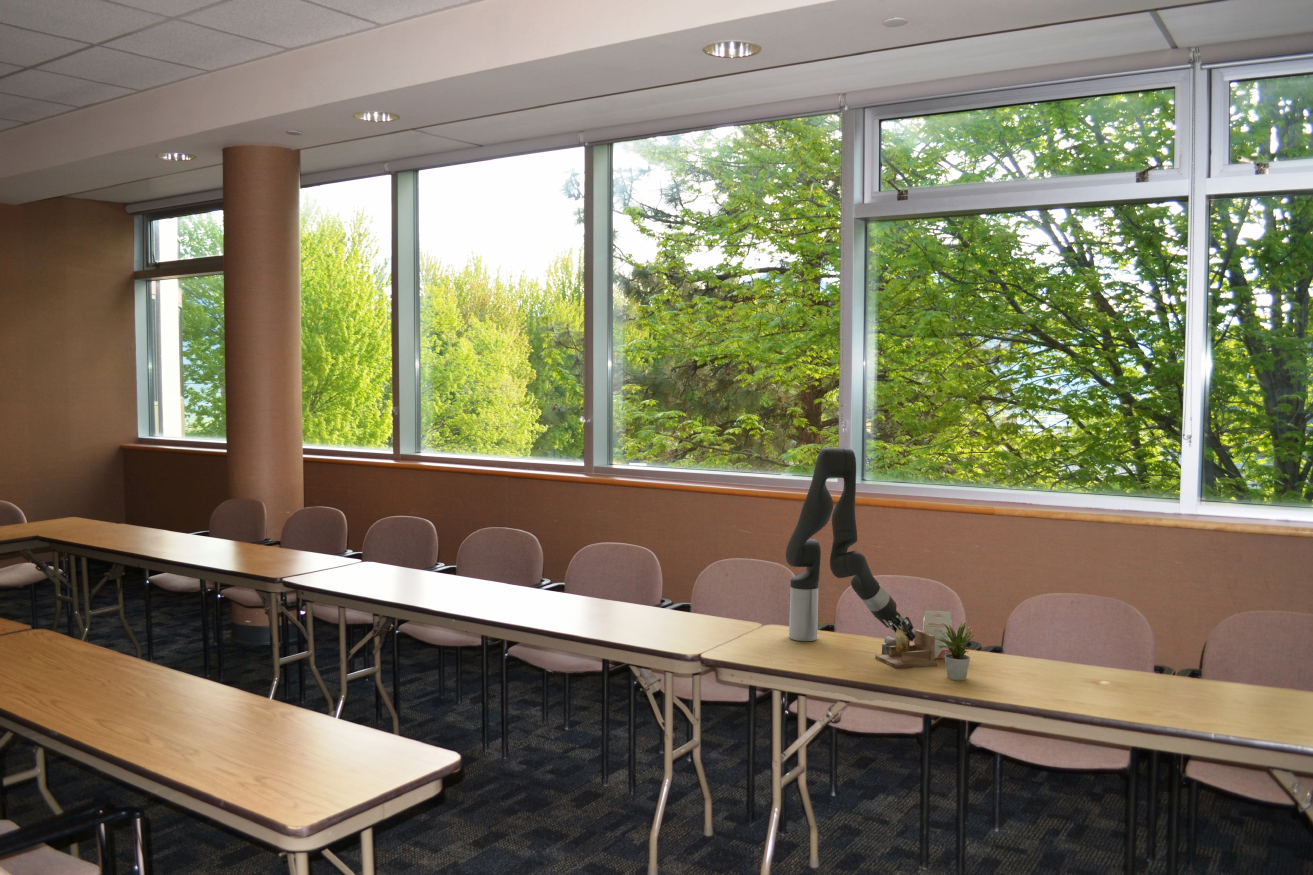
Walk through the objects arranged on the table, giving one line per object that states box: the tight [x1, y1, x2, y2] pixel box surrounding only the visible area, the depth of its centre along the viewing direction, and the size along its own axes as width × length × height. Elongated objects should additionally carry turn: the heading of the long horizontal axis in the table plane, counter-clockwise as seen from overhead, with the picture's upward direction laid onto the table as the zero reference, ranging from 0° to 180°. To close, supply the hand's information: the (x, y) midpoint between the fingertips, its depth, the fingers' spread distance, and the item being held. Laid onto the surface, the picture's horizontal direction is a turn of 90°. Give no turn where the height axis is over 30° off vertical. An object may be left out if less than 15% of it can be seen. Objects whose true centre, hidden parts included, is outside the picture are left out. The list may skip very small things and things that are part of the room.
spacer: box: [895, 624, 911, 652], centre depth 296 cm, size 4×4×10 cm
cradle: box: [874, 628, 938, 669], centre depth 299 cm, size 16×14×8 cm
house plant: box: [931, 621, 980, 681], centre depth 281 cm, size 14×14×16 cm
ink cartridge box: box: [922, 610, 953, 660], centre depth 303 cm, size 9×5×15 cm, turn 76°
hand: (907, 636), depth 297 cm, fingers closed on spacer, 4 cm apart
